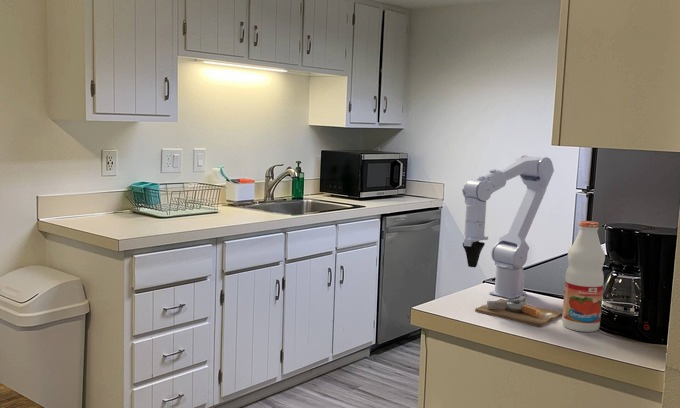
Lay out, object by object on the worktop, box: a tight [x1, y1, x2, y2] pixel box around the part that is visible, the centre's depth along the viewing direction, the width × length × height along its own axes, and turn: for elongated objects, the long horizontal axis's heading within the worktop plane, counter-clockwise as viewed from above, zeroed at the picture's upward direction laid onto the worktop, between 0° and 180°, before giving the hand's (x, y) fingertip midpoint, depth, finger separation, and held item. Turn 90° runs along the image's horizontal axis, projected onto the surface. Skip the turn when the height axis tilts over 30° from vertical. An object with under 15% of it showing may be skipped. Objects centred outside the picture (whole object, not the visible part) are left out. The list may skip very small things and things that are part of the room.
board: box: [474, 298, 563, 328], centre depth 183 cm, size 15×19×1 cm
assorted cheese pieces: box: [486, 295, 540, 317], centre depth 182 cm, size 13×15×3 cm
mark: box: [545, 313, 553, 319], centre depth 177 cm, size 2×1×1 cm, turn 139°
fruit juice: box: [561, 220, 606, 333], centre depth 171 cm, size 9×9×28 cm
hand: (472, 266), depth 193 cm, fingers closed
